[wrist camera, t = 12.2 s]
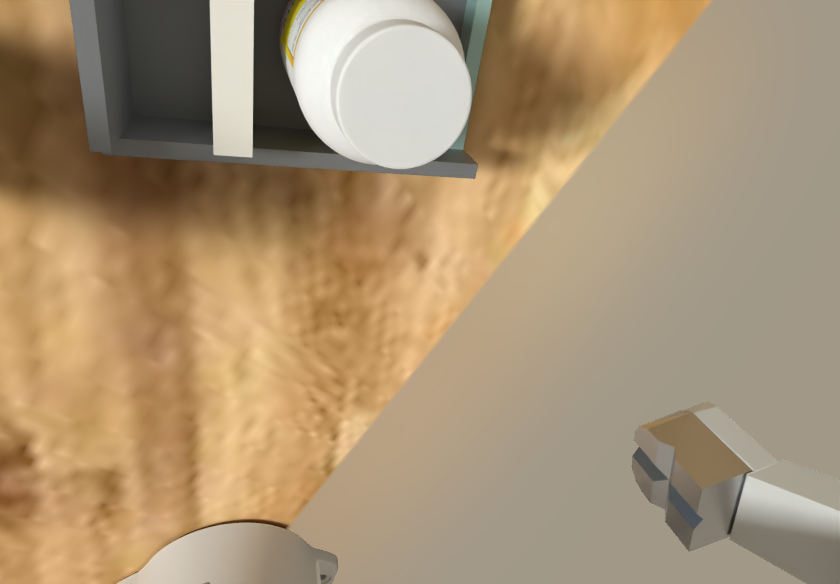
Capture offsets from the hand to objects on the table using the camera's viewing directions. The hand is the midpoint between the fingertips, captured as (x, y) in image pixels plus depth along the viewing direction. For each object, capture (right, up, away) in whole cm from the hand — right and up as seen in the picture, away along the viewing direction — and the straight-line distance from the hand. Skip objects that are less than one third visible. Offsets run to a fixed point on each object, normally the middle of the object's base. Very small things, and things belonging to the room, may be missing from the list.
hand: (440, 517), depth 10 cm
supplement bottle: (-4, +17, +19) cm, 26 cm away
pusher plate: (-9, +17, +17) cm, 26 cm away
